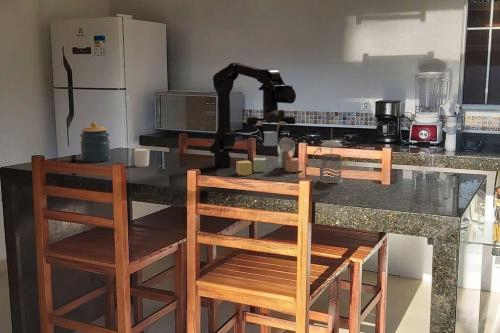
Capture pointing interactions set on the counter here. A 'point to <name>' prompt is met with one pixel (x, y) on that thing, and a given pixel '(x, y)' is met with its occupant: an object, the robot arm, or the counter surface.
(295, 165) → the terracotta block
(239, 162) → the ochre block
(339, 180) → the french press
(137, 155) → the white cup
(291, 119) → the robot arm
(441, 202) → the counter surface
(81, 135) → the canister
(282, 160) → the beer glass
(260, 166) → the sage block
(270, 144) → the grey cube
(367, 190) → the counter surface
